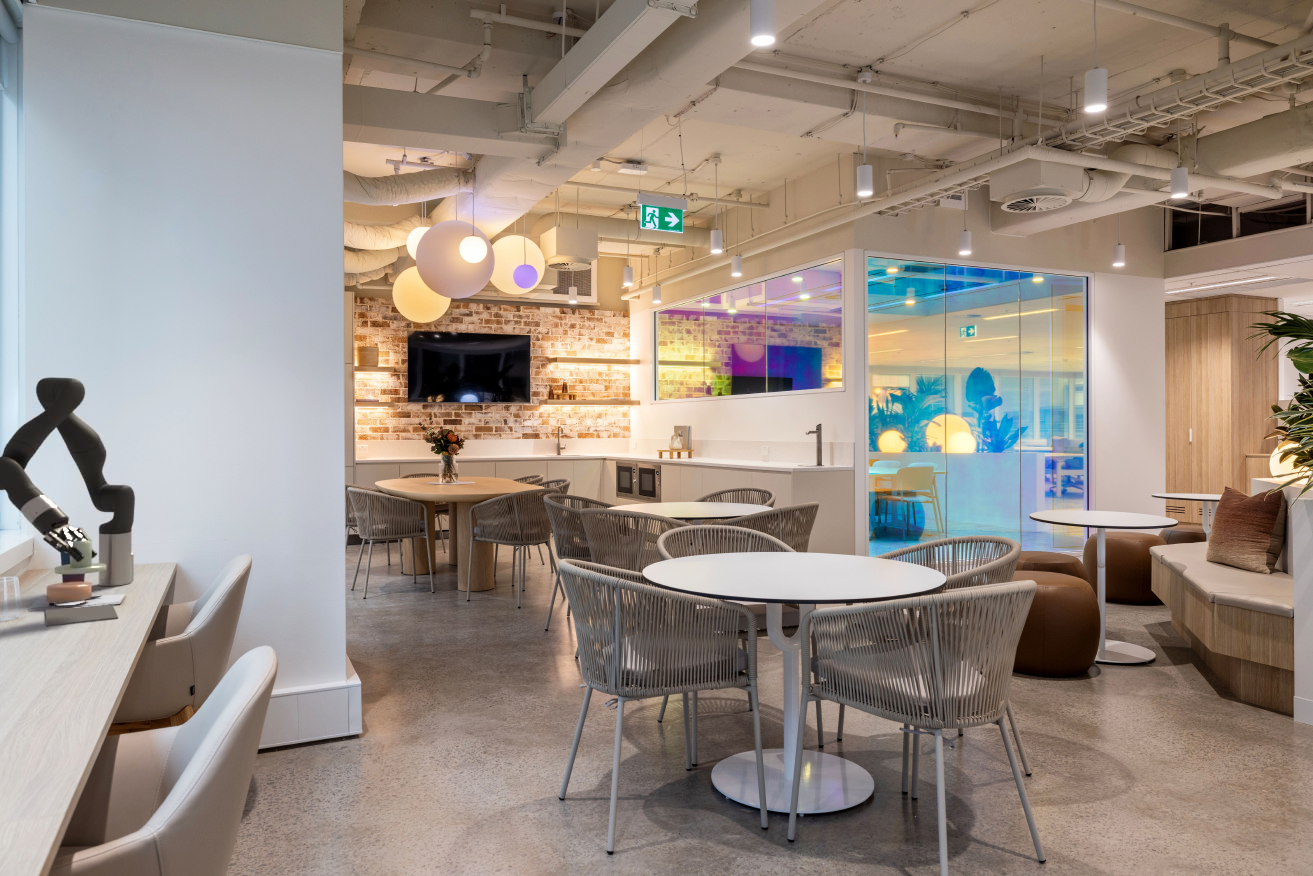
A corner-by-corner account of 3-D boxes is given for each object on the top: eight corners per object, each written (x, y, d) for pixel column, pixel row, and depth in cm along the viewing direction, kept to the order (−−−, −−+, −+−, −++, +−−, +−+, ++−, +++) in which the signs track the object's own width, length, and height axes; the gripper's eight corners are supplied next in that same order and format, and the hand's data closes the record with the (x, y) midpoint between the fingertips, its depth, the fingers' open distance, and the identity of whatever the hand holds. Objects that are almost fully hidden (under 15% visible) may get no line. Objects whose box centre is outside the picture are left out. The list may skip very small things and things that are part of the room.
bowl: (68, 598, 255) (68, 580, 255) (100, 600, 253) (100, 582, 253) (37, 606, 244) (37, 587, 244) (70, 608, 243) (70, 589, 242)
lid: (79, 566, 241) (79, 538, 241) (116, 568, 240) (116, 539, 240) (43, 573, 229) (43, 543, 229) (82, 575, 228) (82, 545, 228)
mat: (45, 610, 239) (45, 609, 239) (111, 604, 248) (111, 602, 248) (46, 626, 221) (46, 624, 221) (118, 618, 231) (118, 617, 231)
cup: (92, 594, 262) (92, 547, 261) (74, 598, 255) (75, 550, 255) (72, 593, 262) (72, 546, 262) (54, 598, 256) (54, 549, 255)
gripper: (36, 508, 227) (81, 552, 228) (71, 503, 241) (113, 545, 242) (16, 527, 227) (61, 571, 227) (52, 521, 241) (94, 563, 242)
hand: (87, 558), depth 235 cm, fingers closed on lid, 5 cm apart
